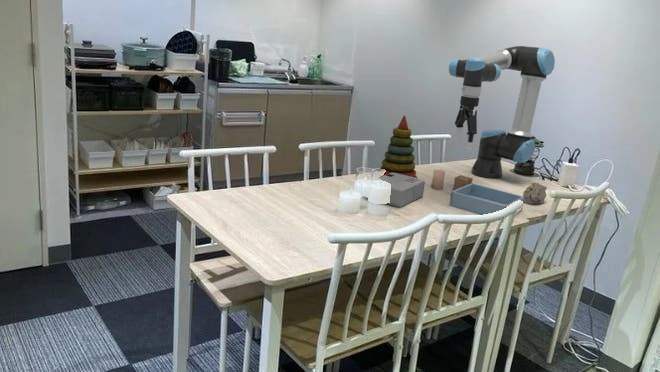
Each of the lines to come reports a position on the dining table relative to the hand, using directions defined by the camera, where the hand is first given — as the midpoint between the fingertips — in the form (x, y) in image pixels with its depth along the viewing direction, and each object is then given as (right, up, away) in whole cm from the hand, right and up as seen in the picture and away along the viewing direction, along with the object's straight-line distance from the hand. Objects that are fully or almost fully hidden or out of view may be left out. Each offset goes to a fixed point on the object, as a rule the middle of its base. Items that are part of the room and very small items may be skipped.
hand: (462, 145), depth 233 cm
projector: (-29, -23, -3) cm, 37 cm away
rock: (+33, -25, +6) cm, 42 cm away
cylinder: (-8, -18, +15) cm, 25 cm away
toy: (-25, -13, +26) cm, 39 cm away
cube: (+3, -19, +15) cm, 25 cm away
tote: (+8, -26, -7) cm, 28 cm away
